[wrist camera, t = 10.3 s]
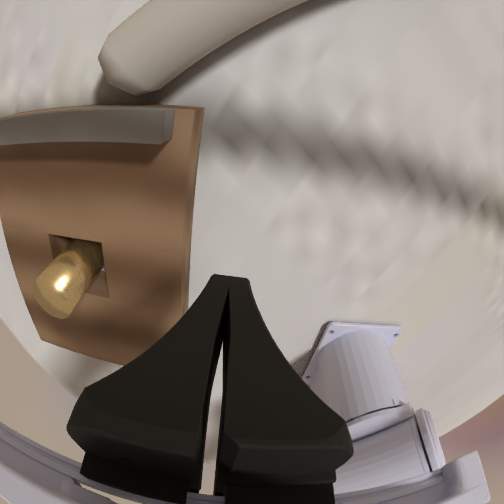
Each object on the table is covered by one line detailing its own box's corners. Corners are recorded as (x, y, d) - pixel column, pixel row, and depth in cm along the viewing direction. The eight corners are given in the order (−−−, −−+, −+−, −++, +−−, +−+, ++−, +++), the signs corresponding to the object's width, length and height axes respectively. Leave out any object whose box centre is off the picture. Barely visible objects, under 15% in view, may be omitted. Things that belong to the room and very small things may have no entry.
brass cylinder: (113, 264, 21) (75, 323, 15) (81, 257, 21) (39, 311, 15) (111, 230, 20) (65, 285, 14) (77, 223, 20) (27, 273, 14)
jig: (187, 353, 27) (178, 395, 22) (53, 321, 26) (33, 353, 21) (204, 107, 16) (184, 111, 11) (15, 113, 14) (-28, 126, 10)
